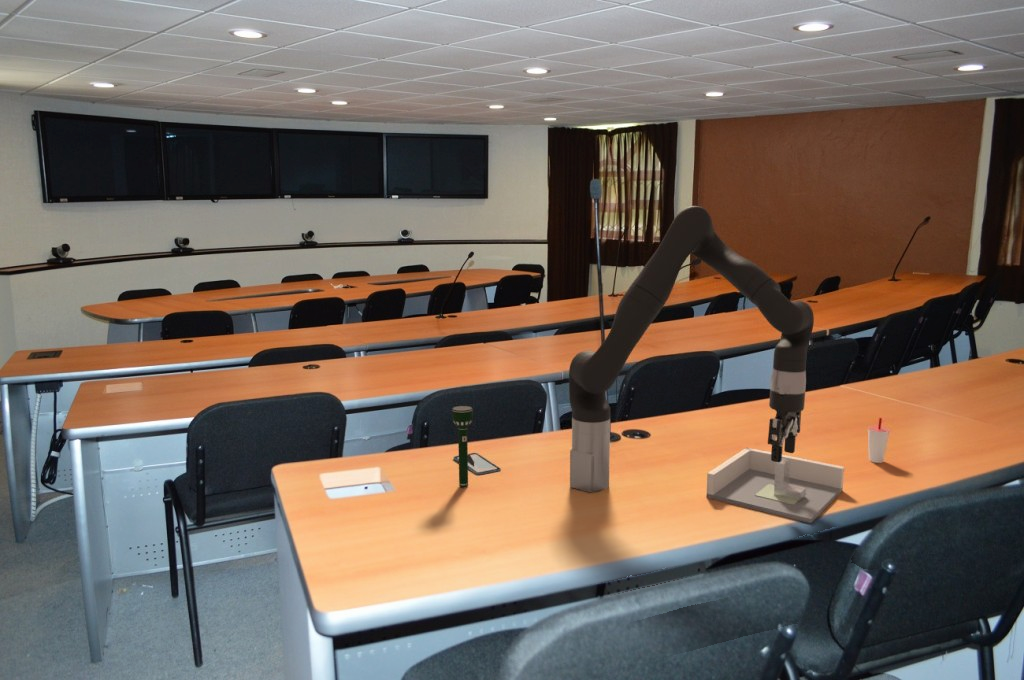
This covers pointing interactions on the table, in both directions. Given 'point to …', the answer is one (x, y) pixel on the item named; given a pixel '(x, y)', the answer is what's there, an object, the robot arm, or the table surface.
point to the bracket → (786, 482)
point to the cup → (877, 442)
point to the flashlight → (462, 439)
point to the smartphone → (479, 464)
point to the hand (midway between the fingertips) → (782, 456)
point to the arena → (754, 478)
